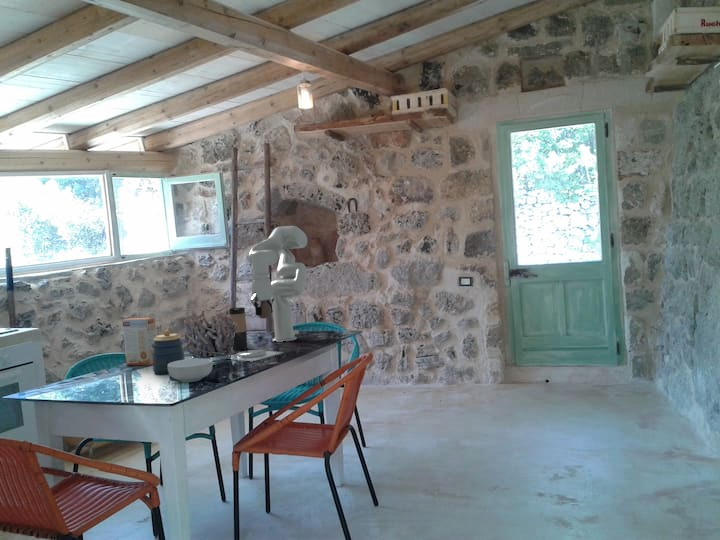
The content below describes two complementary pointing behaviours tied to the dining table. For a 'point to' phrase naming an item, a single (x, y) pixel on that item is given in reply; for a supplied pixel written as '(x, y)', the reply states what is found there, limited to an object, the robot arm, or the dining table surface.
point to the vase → (265, 310)
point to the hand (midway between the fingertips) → (264, 313)
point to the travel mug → (239, 328)
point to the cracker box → (139, 340)
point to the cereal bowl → (190, 369)
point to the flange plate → (253, 355)
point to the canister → (166, 351)
